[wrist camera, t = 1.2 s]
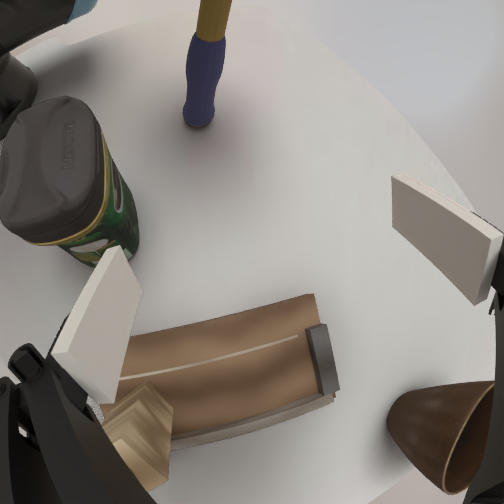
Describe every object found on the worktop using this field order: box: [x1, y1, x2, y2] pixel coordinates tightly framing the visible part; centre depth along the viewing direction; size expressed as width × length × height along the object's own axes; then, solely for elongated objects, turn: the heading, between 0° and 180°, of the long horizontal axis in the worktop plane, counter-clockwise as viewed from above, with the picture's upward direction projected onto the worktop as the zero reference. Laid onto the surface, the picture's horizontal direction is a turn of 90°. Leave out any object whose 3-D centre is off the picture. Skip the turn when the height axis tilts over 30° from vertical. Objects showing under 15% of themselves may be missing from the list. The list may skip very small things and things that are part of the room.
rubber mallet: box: [183, 0, 232, 127], centre depth 20 cm, size 12×8×30 cm, turn 20°
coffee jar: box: [0, 96, 139, 267], centre depth 21 cm, size 10×8×19 cm
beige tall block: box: [101, 380, 174, 492], centre depth 18 cm, size 4×5×15 cm
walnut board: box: [99, 294, 340, 451], centre depth 28 cm, size 13×26×4 cm, turn 105°
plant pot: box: [387, 381, 495, 495], centre depth 27 cm, size 15×15×16 cm
